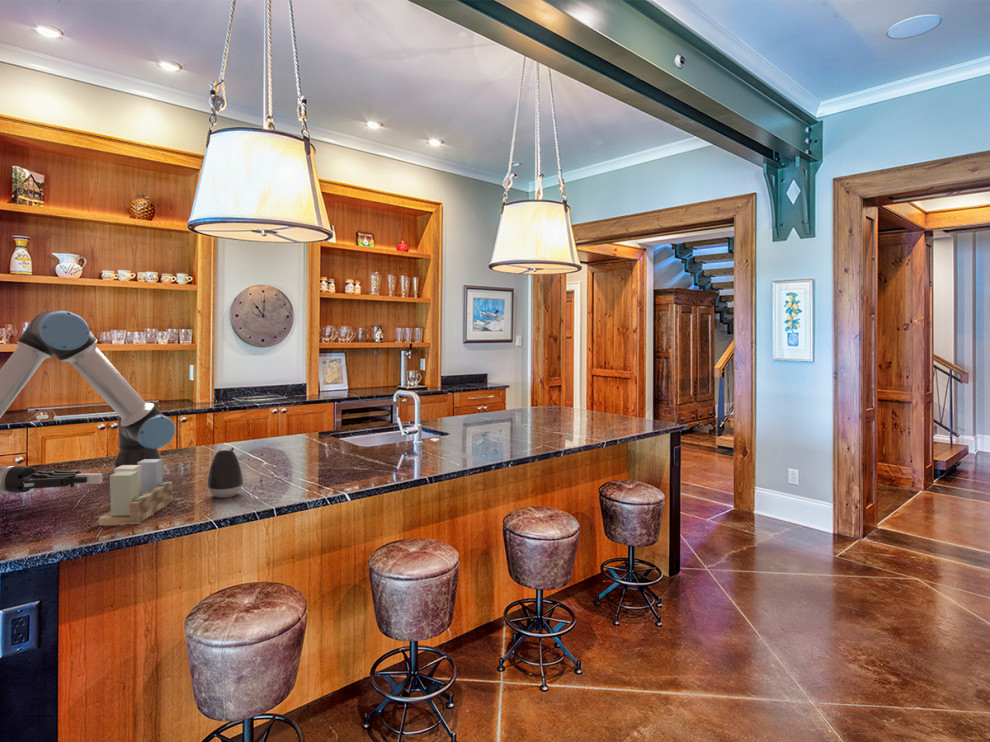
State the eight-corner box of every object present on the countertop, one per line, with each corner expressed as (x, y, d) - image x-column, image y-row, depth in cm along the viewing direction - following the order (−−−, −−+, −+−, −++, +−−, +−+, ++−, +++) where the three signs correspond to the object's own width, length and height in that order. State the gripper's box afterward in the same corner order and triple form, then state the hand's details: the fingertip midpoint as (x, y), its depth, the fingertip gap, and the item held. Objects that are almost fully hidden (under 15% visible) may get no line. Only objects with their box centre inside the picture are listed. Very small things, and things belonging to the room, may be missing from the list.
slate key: (145, 495, 165) (144, 459, 164) (163, 494, 165) (162, 459, 164) (138, 499, 161) (137, 462, 160) (156, 499, 161) (155, 462, 160)
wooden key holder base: (138, 501, 166) (137, 480, 165) (172, 501, 167) (172, 480, 166) (98, 525, 146) (97, 502, 145) (138, 524, 147) (137, 501, 146)
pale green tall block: (119, 510, 151) (118, 471, 150) (138, 510, 151) (137, 471, 151) (111, 515, 147) (109, 475, 146) (130, 515, 148) (129, 475, 147)
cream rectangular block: (123, 502, 158) (122, 465, 157) (142, 502, 158) (140, 465, 157) (115, 507, 154) (114, 468, 153) (134, 506, 154) (133, 468, 153)
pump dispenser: (249, 490, 179) (248, 445, 178) (234, 500, 168) (234, 452, 167) (217, 490, 178) (216, 444, 177) (201, 500, 168) (200, 451, 167)
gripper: (29, 485, 165) (113, 484, 168) (-5, 499, 152) (87, 497, 155) (28, 461, 164) (113, 460, 167) (-6, 472, 151) (86, 471, 154)
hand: (100, 478), depth 161 cm, fingers closed
